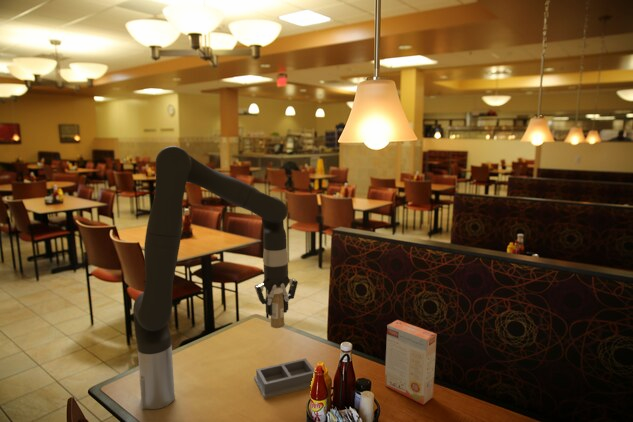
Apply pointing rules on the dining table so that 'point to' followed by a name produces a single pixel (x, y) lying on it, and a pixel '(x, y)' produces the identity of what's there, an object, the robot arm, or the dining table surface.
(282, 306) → the sprinkles bottle
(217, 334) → the dining table surface
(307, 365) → the caddy
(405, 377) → the cracker box
